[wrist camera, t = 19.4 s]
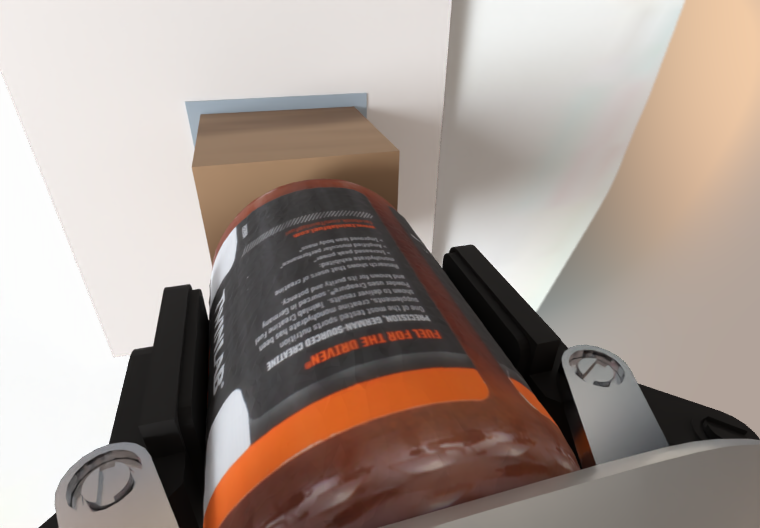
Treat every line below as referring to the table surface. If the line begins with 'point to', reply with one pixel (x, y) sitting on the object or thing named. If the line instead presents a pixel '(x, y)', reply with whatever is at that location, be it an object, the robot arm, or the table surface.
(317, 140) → the walnut cube
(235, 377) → the supplement bottle
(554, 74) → the table surface
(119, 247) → the plate
